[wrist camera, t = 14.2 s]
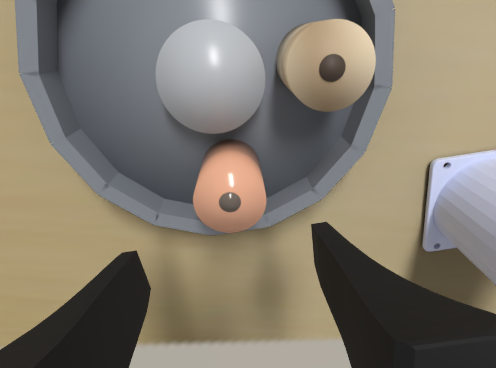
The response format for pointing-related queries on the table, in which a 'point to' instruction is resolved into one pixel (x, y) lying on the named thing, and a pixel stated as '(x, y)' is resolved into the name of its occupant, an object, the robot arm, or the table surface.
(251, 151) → the terracotta bead
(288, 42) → the birch bead
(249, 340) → the table surface
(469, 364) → the robot arm
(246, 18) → the groove tray
